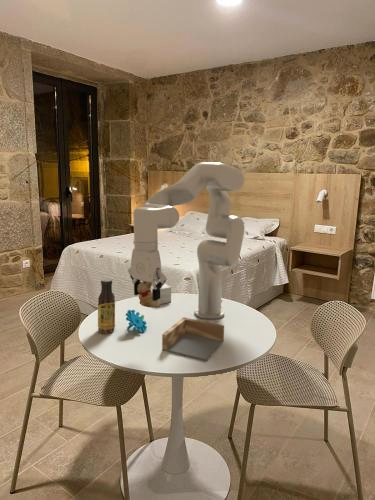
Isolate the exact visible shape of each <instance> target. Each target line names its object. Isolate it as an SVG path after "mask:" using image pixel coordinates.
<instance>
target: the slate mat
mask: <svg viewBox="0 0 375 500" xmlns="http://www.w3.org/2000/svg"><path fill="white" fill-rule="evenodd" d="M223 342H224V341H220V340H215V339H211V338H207V337H202V336H198V335H193V334H189V333H184V334H183V335H182V336H181V337H180V338H179V339H178V340H177V341H175V342H174V343H173V344H172V345H171V346H170V347H169V348H168V349H166V351H164V350H163V352H166V353H171V354H174V355H178V356H182V357H186V358H188V359H189V358H190V359H193V360H198V361H202V362H208V360H209V359H210V358H211V357H212V355H213V354H214V353H215V352H216V350H218V348H219V347H220V346H221V345H222V344H223Z"/></svg>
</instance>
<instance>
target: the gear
mask: <svg viewBox="0 0 375 500" xmlns="http://www.w3.org/2000/svg"><path fill="white" fill-rule="evenodd" d="M125 316H126V318H125V320H126V321H129V322H128V326H127V327H126V328H127V330H131V328H132V329H133V330H134V331H137V332H138V333H145V332H146V330H147V328H148V326H147V321H146V320H145V315H144V314H141V313H140V312H139V311H137V312H136V310H135V309H132V310H131V309H128V310H127V312H126V313H125Z"/></svg>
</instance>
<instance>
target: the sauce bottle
mask: <svg viewBox="0 0 375 500" xmlns="http://www.w3.org/2000/svg"><path fill="white" fill-rule="evenodd" d="M100 286H101V290H100V291H101V292H100V293H99V295H98V299H97V327H98V330H97V331H98V332H99V333H101V334H110V333H113V332H114V331H115V328H116V301H115V300H116V299H115V294H114V293H113V287H112V286H113V279H112V278H102V279H101V280H100Z"/></svg>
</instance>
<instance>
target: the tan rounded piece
mask: <svg viewBox="0 0 375 500" xmlns="http://www.w3.org/2000/svg"><path fill="white" fill-rule="evenodd" d="M141 282H142V283H140V284H139V285H138V286H137V291H138V292H139V294H138V299H139V304H140V305H141V306H142V307H146V308H159V307H160V306H161V304H159V301H158V300H156V301H153V299H152V290H151V288H152V286H153V285H152V283H151V282H145V281H141Z"/></svg>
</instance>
